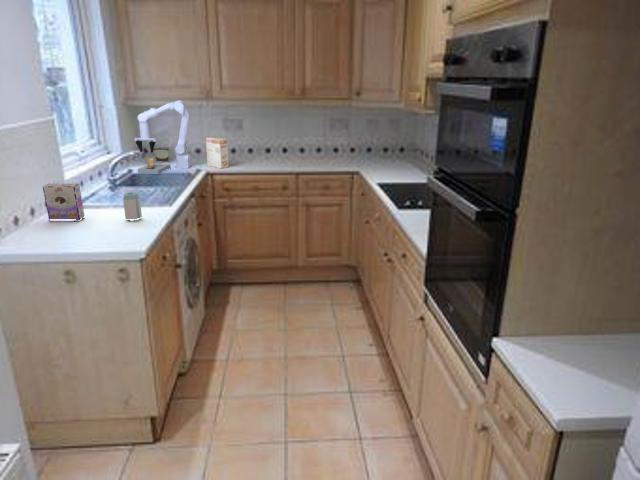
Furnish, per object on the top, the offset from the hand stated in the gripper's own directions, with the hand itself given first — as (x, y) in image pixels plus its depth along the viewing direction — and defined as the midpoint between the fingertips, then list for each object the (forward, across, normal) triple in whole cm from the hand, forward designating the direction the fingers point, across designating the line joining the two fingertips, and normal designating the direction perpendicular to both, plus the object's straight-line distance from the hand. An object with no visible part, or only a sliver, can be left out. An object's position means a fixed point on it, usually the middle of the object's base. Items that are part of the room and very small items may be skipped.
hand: (146, 152), depth 329 cm
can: (+11, +50, -112) cm, 123 cm away
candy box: (+11, +21, -118) cm, 120 cm away
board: (+10, +9, -9) cm, 16 cm away
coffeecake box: (+11, +45, +13) cm, 48 cm away
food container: (+11, 0, +24) cm, 26 cm away
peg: (+10, +9, -14) cm, 19 cm away
